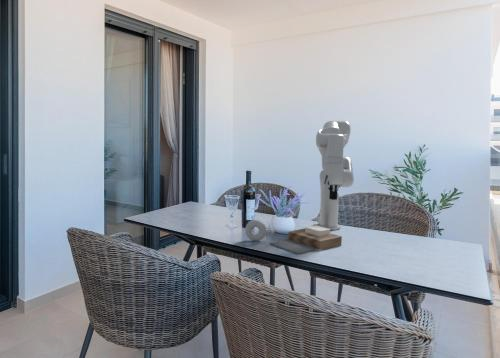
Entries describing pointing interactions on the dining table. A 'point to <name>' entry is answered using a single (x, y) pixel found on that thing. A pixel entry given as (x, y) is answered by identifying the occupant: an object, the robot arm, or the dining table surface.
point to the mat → (293, 246)
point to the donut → (260, 226)
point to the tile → (317, 230)
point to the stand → (315, 239)
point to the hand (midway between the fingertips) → (333, 199)
